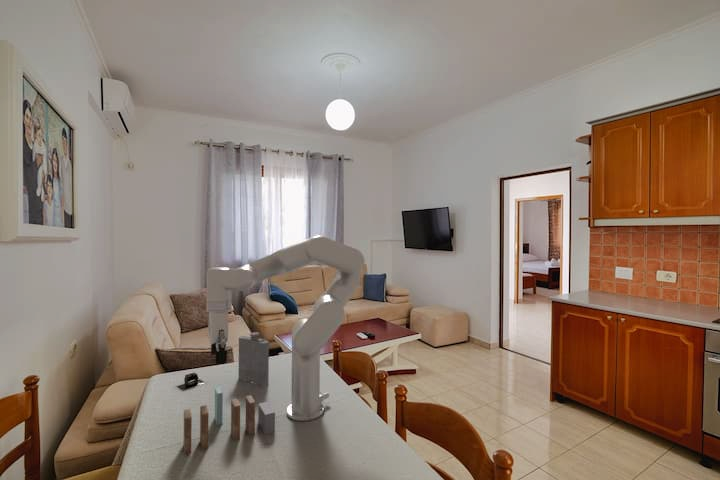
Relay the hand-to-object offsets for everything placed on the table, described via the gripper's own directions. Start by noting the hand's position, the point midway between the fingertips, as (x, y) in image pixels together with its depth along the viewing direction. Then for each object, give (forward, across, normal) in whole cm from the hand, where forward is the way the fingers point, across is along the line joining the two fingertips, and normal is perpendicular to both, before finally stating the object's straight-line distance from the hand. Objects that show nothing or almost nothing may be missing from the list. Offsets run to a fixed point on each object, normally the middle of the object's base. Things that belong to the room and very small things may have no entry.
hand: (218, 358), depth 110 cm
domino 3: (+20, 0, 0) cm, 20 cm away
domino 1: (+20, +11, -10) cm, 25 cm away
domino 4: (+20, +11, +3) cm, 23 cm away
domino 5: (+20, +11, +8) cm, 24 cm away
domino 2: (+20, +11, -5) cm, 24 cm away
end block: (+20, +11, +12) cm, 26 cm away
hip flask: (+20, -25, +18) cm, 37 cm away
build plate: (+21, -35, -5) cm, 41 cm away
